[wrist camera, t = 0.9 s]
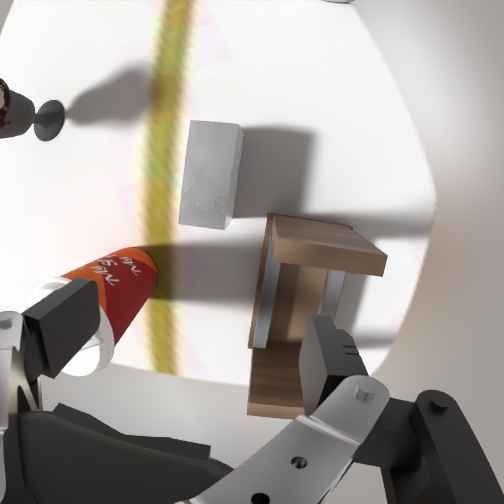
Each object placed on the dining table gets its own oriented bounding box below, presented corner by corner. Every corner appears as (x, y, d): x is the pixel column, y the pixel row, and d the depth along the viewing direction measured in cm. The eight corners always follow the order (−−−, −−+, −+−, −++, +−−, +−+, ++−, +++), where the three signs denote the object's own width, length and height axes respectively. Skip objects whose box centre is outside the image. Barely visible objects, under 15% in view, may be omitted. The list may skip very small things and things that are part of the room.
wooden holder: (267, 212, 28) (269, 237, 18) (350, 226, 28) (394, 256, 18) (248, 343, 32) (240, 414, 21) (320, 351, 32) (338, 421, 21)
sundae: (51, 159, 28) (-51, 165, 13) (23, 132, 27) (-71, 129, 12) (80, 108, 26) (-22, 86, 12) (48, 85, 25) (-44, 61, 11)
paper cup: (154, 228, 29) (76, 272, 16) (177, 298, 31) (124, 380, 18) (93, 247, 30) (6, 293, 17) (117, 311, 32) (49, 382, 18)
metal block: (205, 130, 27) (190, 120, 21) (244, 134, 27) (238, 124, 21) (195, 213, 29) (178, 224, 23) (232, 218, 29) (224, 230, 23)
